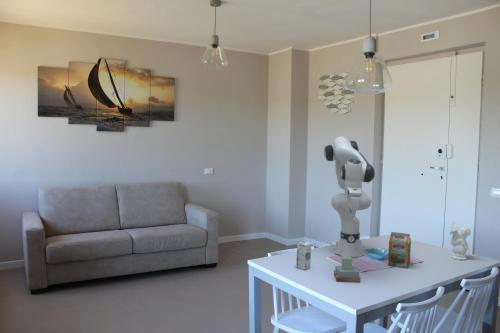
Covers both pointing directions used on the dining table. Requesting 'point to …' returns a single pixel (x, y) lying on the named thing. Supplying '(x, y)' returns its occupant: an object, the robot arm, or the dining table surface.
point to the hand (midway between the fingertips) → (352, 215)
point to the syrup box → (303, 255)
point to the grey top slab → (347, 272)
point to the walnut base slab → (346, 278)
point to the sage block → (346, 262)
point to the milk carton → (399, 250)
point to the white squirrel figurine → (459, 241)
